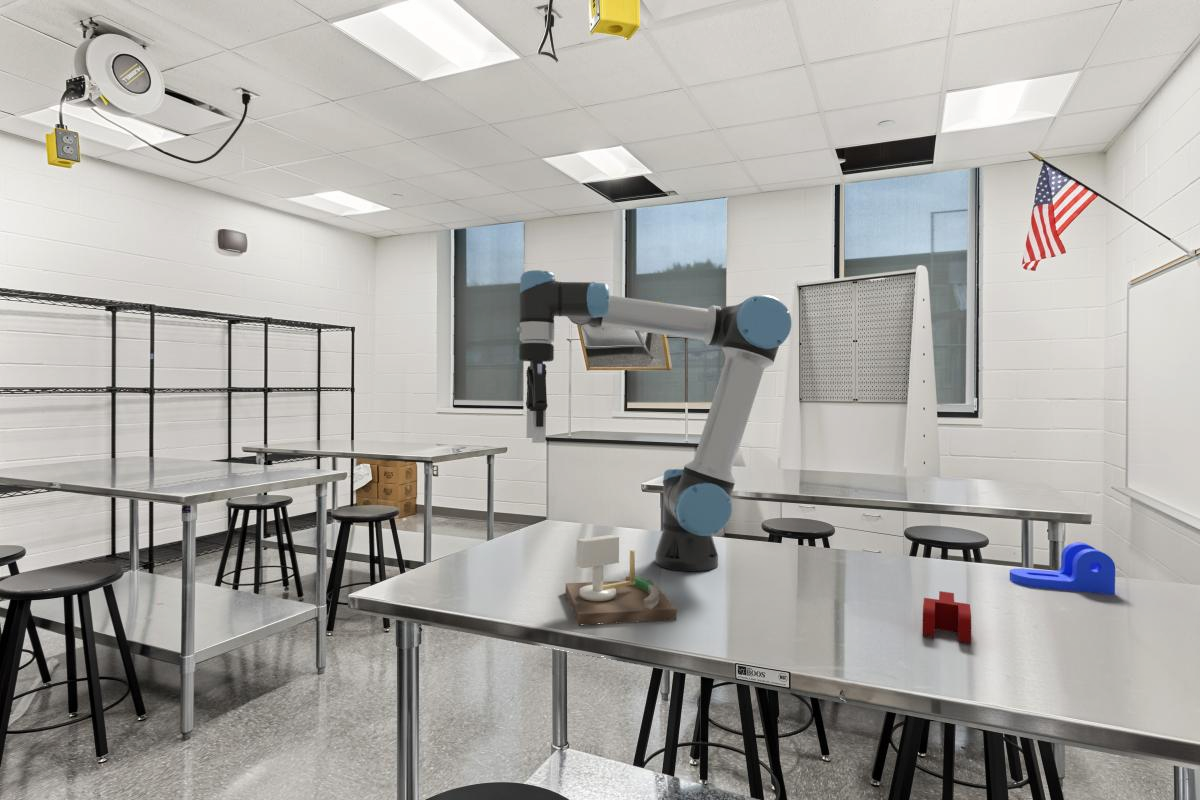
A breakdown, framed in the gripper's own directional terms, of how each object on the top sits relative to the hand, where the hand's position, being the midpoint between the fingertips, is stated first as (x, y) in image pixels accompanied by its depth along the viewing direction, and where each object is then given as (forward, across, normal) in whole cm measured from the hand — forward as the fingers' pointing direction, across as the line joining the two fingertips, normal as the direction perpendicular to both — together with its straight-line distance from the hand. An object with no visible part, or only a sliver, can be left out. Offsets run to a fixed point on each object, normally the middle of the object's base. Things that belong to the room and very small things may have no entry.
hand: (535, 440), depth 139 cm
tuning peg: (+28, +19, +12) cm, 36 cm away
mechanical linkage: (+31, +41, +69) cm, 86 cm away
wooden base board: (+31, +19, +14) cm, 39 cm away
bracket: (+31, +22, +113) cm, 119 cm away
